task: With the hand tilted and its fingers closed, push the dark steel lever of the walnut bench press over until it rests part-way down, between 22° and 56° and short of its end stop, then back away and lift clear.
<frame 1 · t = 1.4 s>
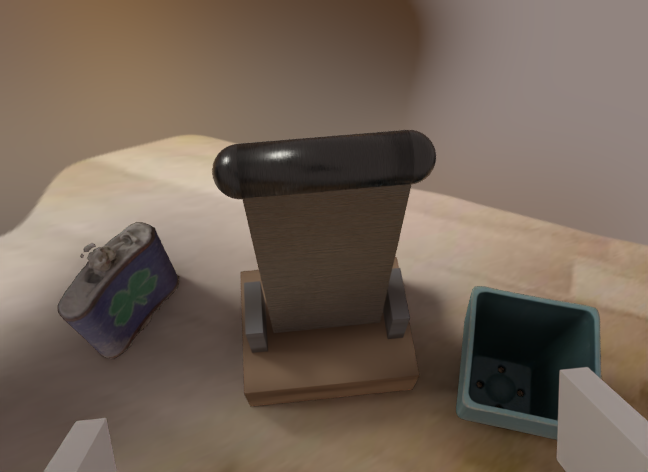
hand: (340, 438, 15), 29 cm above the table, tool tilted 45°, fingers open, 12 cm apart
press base: (325, 338, 47), on the table
lever: (325, 255, 34), point 15 cm above the table, hinge at 0.0°
flower pot: (497, 391, 45), on the table
flask: (140, 313, 48), on the table
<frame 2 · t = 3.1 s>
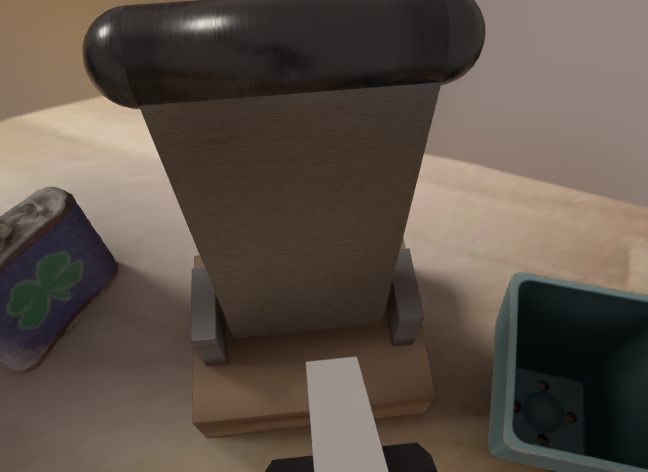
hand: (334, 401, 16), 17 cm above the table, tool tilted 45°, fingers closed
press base: (308, 344, 35), on the table
lever: (300, 224, 23), point 15 cm above the table, hinge at 0.0°
flower pot: (538, 414, 33), on the table
flask: (66, 312, 37), on the table
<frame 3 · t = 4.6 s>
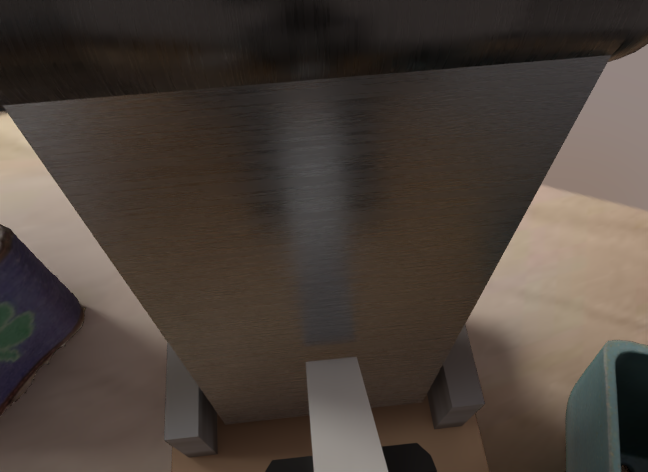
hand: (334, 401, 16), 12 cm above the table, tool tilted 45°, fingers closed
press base: (322, 414, 28), on the table
lever: (317, 287, 15), point 15 cm above the table, hinge at 1.4°, touching gripper
flask: (18, 370, 29), on the table
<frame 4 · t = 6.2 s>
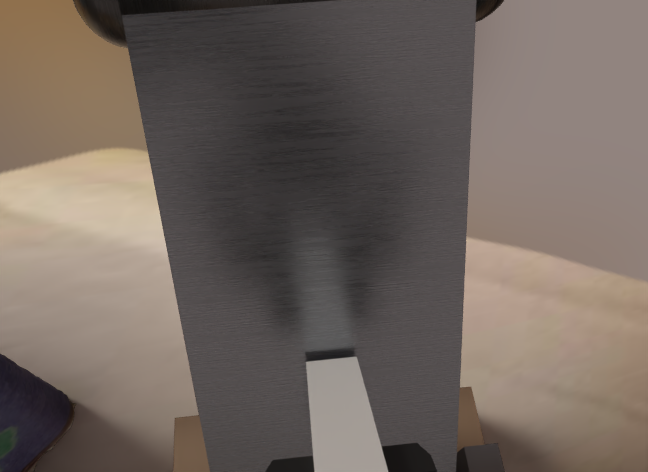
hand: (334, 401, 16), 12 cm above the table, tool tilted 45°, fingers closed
lever: (322, 306, 17), point 13 cm above the table, hinge at 36.5°, touching gripper
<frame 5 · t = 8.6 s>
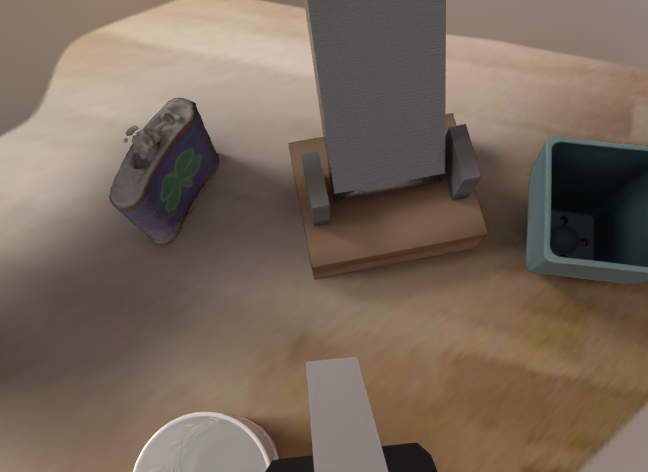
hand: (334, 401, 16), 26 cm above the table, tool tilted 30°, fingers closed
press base: (381, 205, 45), on the table
lever: (377, 50, 35), point 13 cm above the table, hinge at 36.5°
flower pot: (559, 242, 44), on the table
flask: (185, 196, 46), on the table
white cup: (233, 466, 40), on the table
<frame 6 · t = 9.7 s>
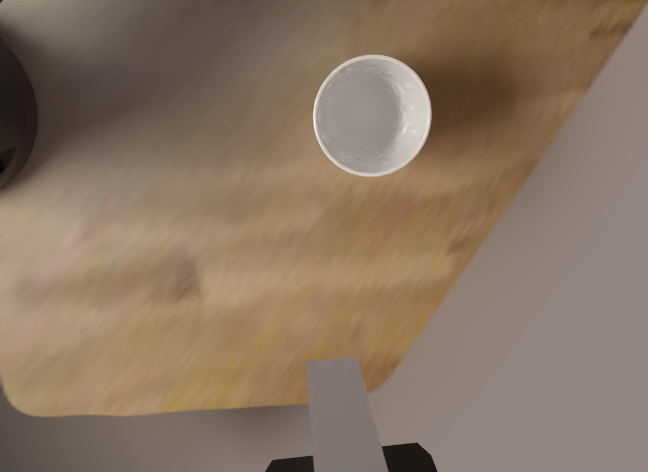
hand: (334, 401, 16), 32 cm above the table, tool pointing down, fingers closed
white cup: (354, 112, 46), on the table
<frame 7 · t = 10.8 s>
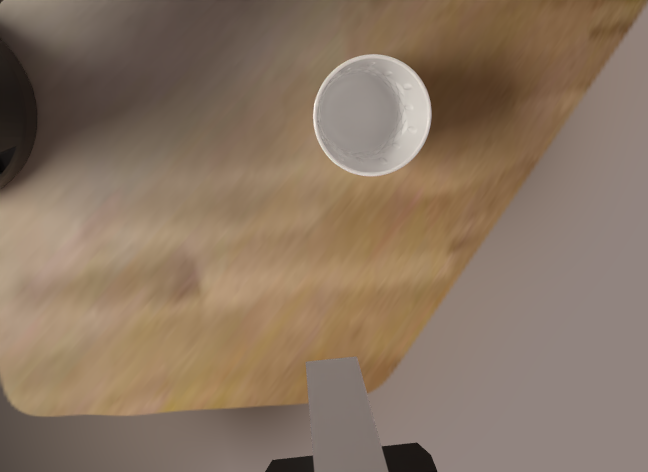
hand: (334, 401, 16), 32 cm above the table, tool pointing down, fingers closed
white cup: (354, 112, 46), on the table
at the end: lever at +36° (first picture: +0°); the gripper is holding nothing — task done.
